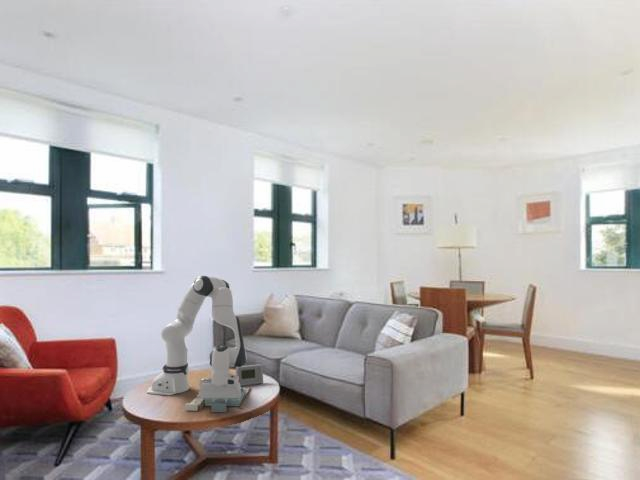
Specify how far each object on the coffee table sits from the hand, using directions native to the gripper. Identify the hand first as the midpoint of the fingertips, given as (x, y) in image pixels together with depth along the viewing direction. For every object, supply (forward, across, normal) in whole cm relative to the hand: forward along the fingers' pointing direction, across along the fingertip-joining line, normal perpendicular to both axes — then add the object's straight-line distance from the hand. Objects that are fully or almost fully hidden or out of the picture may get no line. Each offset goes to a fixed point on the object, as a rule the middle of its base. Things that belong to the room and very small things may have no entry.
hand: (220, 406), depth 186 cm
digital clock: (+2, +8, +38) cm, 38 cm away
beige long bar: (+2, -14, +13) cm, 19 cm away
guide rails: (+2, 0, +15) cm, 15 cm away
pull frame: (+1, 0, +10) cm, 10 cm away
